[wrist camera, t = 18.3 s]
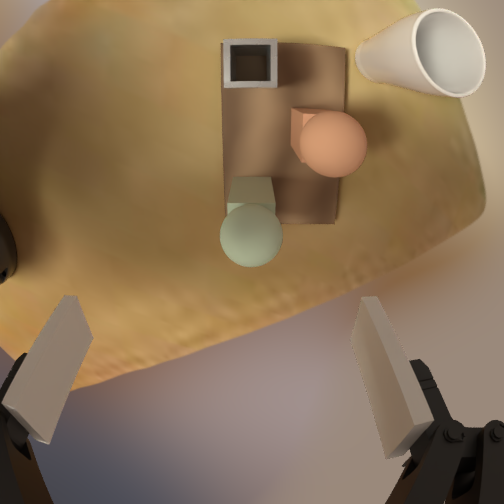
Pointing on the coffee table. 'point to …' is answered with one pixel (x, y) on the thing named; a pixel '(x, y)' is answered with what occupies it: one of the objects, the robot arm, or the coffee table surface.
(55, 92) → the coffee table surface
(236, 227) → the sage ball
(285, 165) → the board
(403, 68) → the drinking glass
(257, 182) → the sage tube
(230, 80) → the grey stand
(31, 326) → the coffee table surface
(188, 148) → the coffee table surface
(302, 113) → the terracotta tube
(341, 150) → the terracotta ball
